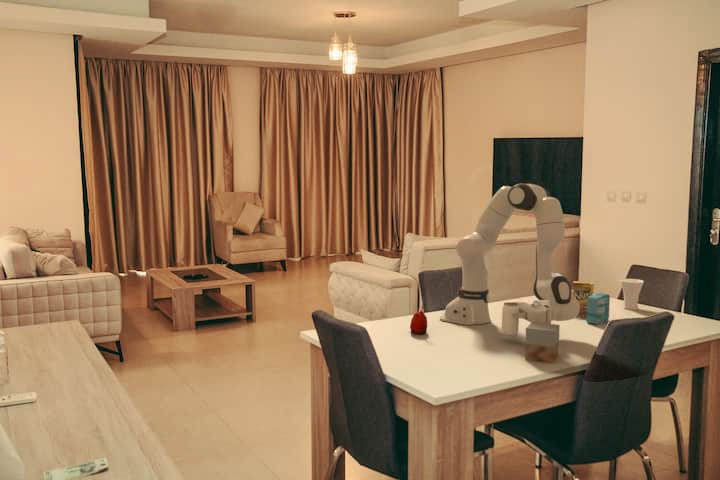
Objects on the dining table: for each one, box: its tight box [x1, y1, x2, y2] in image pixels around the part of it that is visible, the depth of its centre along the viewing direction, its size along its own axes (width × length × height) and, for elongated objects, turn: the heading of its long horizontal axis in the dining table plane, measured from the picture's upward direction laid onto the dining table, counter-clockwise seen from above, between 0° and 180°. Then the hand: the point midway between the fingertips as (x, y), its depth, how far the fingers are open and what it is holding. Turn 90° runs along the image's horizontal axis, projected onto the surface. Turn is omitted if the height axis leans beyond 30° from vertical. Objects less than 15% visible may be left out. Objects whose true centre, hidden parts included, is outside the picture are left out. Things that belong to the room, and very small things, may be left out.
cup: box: [619, 278, 645, 311], centre depth 333 cm, size 10×10×14 cm
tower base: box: [524, 340, 560, 364], centre depth 257 cm, size 10×10×6 cm
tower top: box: [525, 322, 561, 348], centre depth 256 cm, size 10×10×6 cm
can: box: [501, 301, 520, 337], centre depth 277 cm, size 6×6×12 cm
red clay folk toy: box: [409, 298, 428, 335], centre depth 291 cm, size 8×7×15 cm
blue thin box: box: [586, 292, 611, 325], centre depth 309 cm, size 12×4×12 cm, turn 134°
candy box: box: [572, 280, 595, 317], centre depth 321 cm, size 9×4×15 cm, turn 68°
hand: (508, 313), depth 276 cm, fingers closed on can, 6 cm apart
